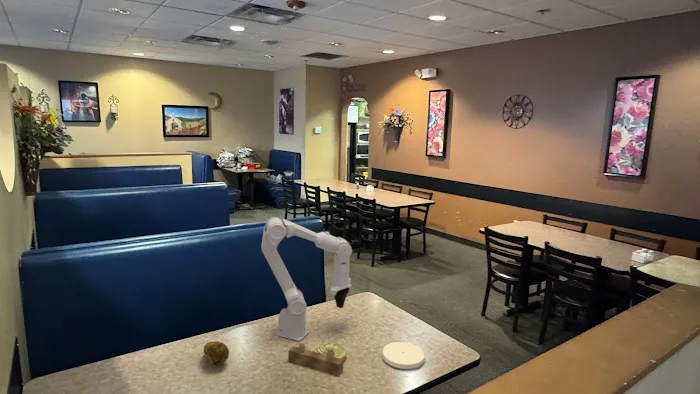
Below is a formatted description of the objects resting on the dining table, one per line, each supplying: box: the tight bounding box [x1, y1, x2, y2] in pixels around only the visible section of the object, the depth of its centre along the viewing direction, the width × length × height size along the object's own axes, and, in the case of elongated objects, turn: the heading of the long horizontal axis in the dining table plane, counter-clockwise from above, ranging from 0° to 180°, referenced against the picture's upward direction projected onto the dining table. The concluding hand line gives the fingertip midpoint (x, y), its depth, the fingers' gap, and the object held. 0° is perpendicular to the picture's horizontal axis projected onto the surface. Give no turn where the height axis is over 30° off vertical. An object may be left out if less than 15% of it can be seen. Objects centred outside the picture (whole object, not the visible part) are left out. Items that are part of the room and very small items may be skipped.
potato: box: [203, 341, 230, 366], centre depth 133 cm, size 8×13×8 cm, turn 12°
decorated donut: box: [313, 341, 348, 363], centre depth 138 cm, size 10×11×4 cm
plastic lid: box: [381, 341, 426, 370], centre depth 139 cm, size 14×14×2 cm
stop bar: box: [287, 343, 344, 377], centre depth 133 cm, size 18×3×6 cm, turn 67°
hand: (340, 307), depth 155 cm, fingers closed
